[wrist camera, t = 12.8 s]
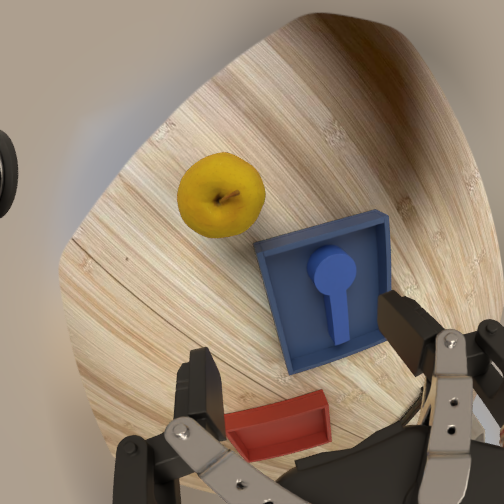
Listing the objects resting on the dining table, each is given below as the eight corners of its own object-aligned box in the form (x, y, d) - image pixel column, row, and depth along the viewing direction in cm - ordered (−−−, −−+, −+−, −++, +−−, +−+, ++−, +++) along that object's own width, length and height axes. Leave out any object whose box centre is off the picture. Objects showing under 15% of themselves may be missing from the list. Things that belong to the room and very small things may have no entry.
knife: (395, 431, 48) (397, 435, 46) (376, 434, 46) (378, 439, 45) (465, 349, 40) (469, 354, 38) (450, 348, 38) (455, 353, 37)
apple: (264, 161, 24) (285, 168, 16) (246, 228, 26) (258, 263, 19) (193, 144, 23) (181, 144, 15) (178, 213, 25) (162, 244, 17)
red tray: (245, 449, 41) (247, 463, 38) (221, 414, 36) (222, 431, 33) (327, 428, 41) (331, 441, 38) (322, 389, 36) (328, 404, 33)
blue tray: (284, 361, 33) (289, 375, 30) (252, 242, 27) (256, 253, 24) (380, 328, 33) (389, 339, 31) (375, 208, 27) (389, 215, 24)
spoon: (352, 324, 31) (360, 336, 29) (318, 336, 31) (324, 349, 29) (344, 239, 27) (354, 248, 25) (303, 251, 27) (310, 261, 25)
